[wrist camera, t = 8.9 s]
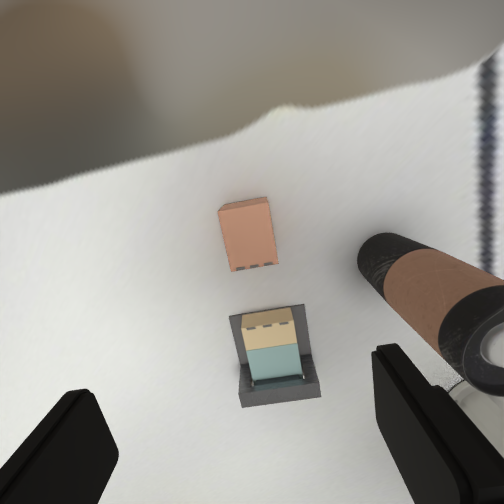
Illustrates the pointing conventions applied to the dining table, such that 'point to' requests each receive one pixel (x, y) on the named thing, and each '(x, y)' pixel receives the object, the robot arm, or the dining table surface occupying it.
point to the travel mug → (442, 304)
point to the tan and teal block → (271, 344)
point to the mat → (300, 330)
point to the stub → (248, 234)
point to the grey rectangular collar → (279, 386)
